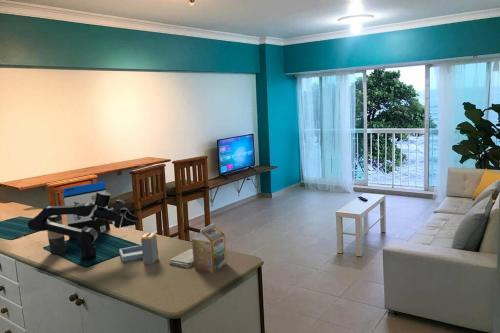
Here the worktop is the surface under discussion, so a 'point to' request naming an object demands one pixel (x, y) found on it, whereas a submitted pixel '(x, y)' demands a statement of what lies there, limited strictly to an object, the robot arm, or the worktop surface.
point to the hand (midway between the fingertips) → (137, 221)
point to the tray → (131, 253)
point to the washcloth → (183, 259)
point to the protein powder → (84, 196)
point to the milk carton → (209, 249)
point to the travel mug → (56, 237)
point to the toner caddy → (149, 248)
